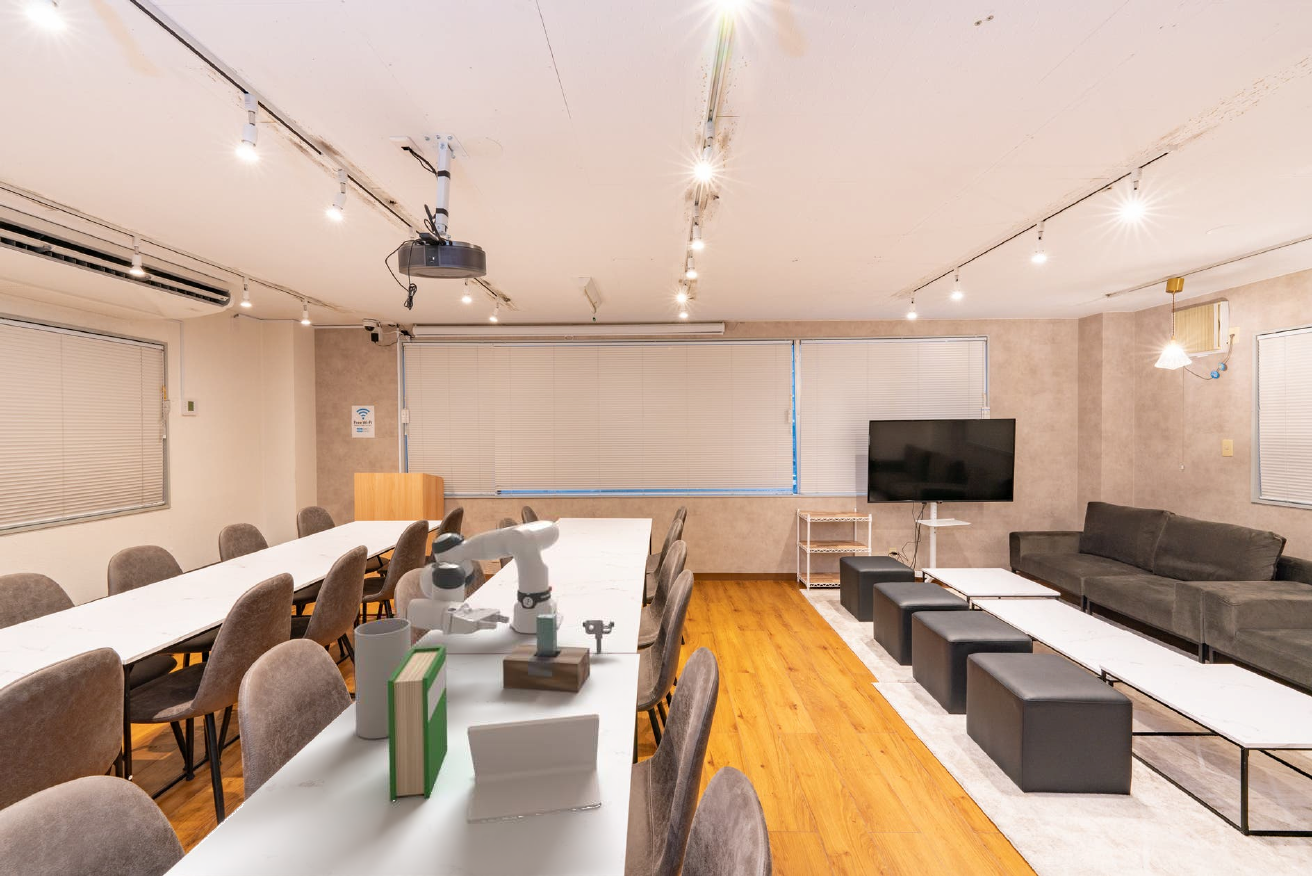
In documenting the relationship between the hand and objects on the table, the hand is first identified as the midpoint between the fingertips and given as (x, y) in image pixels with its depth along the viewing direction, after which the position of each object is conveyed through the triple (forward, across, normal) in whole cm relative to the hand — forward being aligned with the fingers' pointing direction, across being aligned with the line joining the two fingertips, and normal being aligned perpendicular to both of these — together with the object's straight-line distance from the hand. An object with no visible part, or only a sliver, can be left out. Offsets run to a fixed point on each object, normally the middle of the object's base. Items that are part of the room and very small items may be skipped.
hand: (502, 623), depth 172 cm
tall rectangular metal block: (+15, -1, -11) cm, 18 cm away
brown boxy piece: (+15, -2, -15) cm, 21 cm away
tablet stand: (+29, +47, -21) cm, 59 cm away
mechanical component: (+24, -26, -11) cm, 37 cm away
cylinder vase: (-16, +28, -22) cm, 39 cm away
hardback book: (+3, +45, -23) cm, 51 cm away
